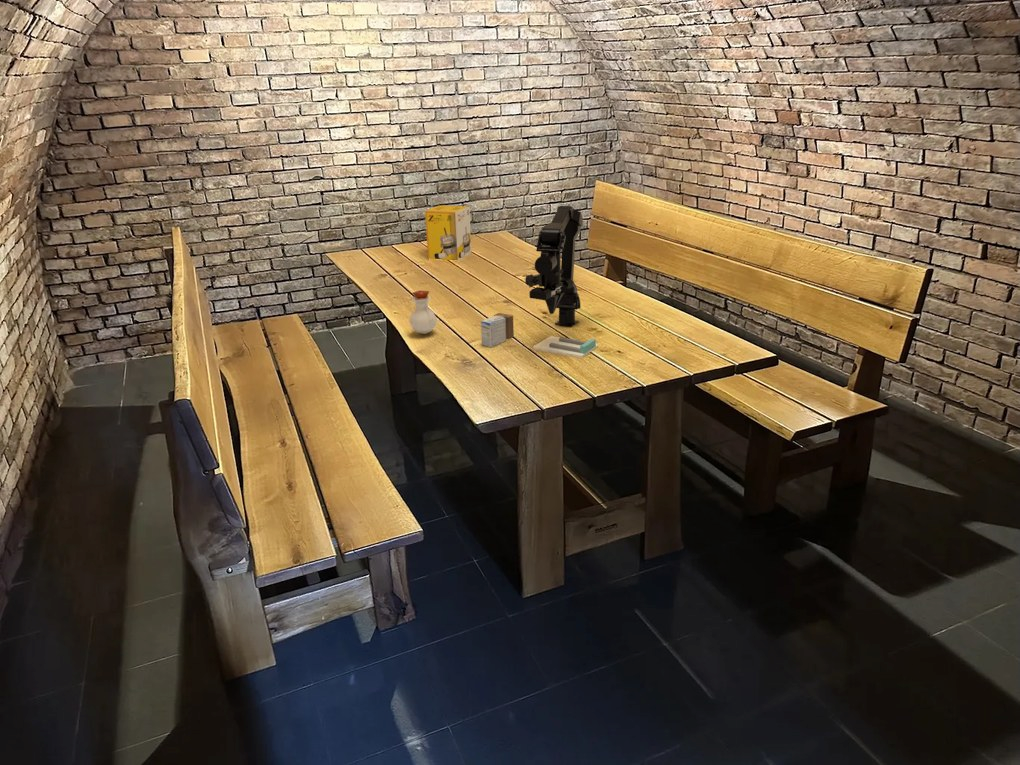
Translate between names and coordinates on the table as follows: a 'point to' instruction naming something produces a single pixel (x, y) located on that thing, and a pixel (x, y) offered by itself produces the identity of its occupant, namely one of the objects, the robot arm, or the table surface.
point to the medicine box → (493, 331)
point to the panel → (508, 324)
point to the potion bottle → (422, 314)
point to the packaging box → (448, 232)
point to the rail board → (566, 346)
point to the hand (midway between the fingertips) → (551, 313)
